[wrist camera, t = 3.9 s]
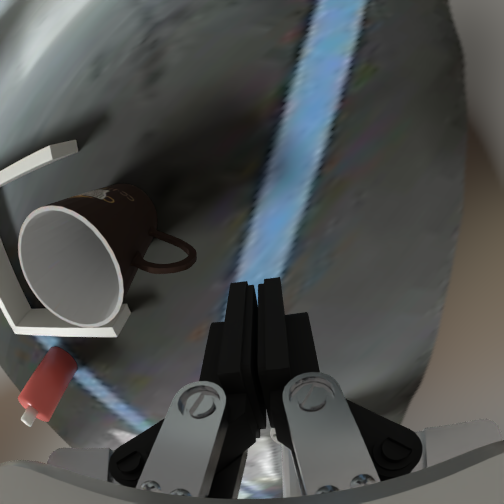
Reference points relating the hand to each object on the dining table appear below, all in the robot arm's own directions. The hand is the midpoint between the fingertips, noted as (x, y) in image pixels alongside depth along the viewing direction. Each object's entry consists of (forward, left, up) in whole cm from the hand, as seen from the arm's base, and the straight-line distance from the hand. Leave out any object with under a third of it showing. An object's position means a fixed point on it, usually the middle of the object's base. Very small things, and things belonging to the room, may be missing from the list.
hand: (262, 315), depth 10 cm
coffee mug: (+11, 0, -15) cm, 19 cm away
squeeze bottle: (+31, +17, -15) cm, 39 cm away
